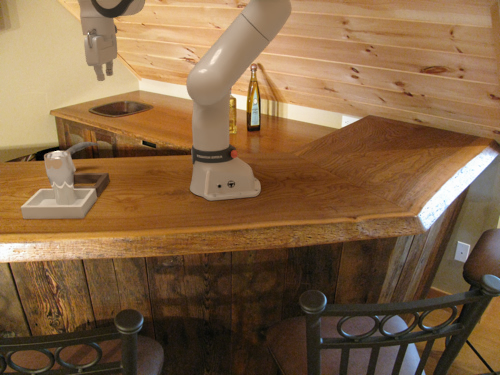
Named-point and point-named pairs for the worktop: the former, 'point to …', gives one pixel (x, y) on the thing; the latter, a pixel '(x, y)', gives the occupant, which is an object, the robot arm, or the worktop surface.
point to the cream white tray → (45, 206)
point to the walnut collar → (92, 181)
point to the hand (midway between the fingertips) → (105, 78)
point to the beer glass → (61, 176)
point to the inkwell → (80, 148)
